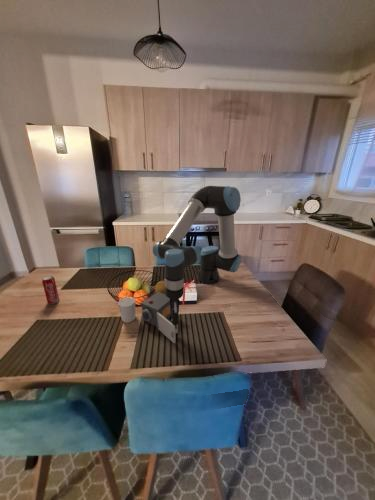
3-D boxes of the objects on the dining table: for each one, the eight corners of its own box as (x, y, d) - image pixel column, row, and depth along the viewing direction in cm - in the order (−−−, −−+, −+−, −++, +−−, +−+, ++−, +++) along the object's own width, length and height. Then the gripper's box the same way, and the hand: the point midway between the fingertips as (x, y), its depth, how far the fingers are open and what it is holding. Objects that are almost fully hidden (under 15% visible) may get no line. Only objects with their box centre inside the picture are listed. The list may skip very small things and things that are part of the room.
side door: (156, 329, 97) (155, 313, 94) (159, 327, 98) (158, 311, 95) (173, 344, 89) (172, 327, 86) (175, 342, 90) (175, 325, 87)
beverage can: (48, 306, 114) (42, 282, 109) (46, 300, 119) (40, 277, 113) (60, 301, 118) (55, 278, 112) (58, 296, 122) (52, 274, 117)
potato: (171, 277, 126) (156, 276, 126) (170, 289, 114) (153, 288, 114) (170, 290, 130) (155, 289, 130) (169, 303, 118) (153, 302, 117)
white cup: (131, 311, 110) (129, 295, 107) (139, 318, 105) (138, 301, 101) (117, 318, 105) (115, 301, 101) (125, 325, 100) (123, 308, 96)
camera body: (158, 307, 113) (157, 290, 109) (173, 314, 108) (173, 296, 104) (139, 322, 102) (138, 303, 98) (155, 330, 97) (154, 311, 93)
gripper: (164, 279, 90) (165, 323, 99) (165, 295, 78) (166, 344, 87) (181, 278, 91) (181, 321, 100) (185, 294, 79) (184, 342, 88)
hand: (174, 332), depth 93 cm, fingers closed
